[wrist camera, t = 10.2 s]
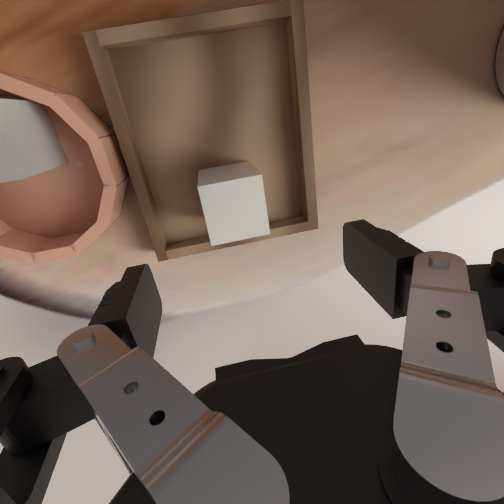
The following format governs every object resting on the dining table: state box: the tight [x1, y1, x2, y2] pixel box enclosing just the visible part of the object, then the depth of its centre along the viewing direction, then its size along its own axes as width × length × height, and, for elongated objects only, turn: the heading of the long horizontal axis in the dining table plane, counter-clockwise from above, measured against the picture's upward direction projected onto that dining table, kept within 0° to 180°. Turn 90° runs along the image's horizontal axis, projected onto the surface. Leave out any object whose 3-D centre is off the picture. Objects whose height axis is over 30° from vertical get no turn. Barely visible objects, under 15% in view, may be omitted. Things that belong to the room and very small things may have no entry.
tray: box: [82, 0, 318, 262], centre depth 23 cm, size 14×16×2 cm
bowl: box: [0, 73, 128, 264], centre depth 21 cm, size 12×12×4 cm
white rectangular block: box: [197, 161, 270, 246], centre depth 22 cm, size 4×4×6 cm
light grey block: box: [0, 98, 69, 183], centre depth 18 cm, size 4×4×6 cm
